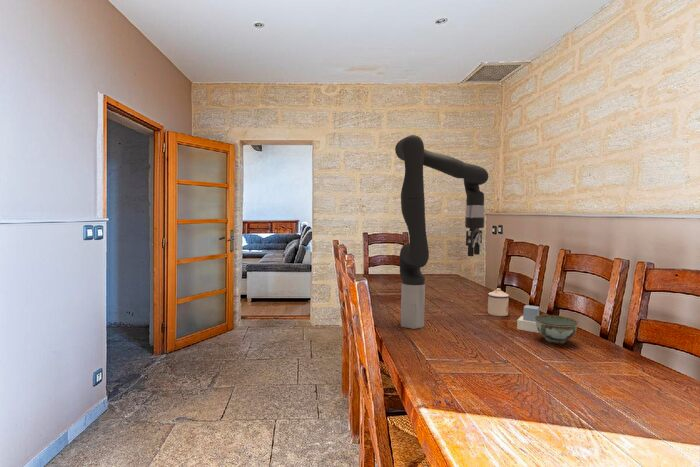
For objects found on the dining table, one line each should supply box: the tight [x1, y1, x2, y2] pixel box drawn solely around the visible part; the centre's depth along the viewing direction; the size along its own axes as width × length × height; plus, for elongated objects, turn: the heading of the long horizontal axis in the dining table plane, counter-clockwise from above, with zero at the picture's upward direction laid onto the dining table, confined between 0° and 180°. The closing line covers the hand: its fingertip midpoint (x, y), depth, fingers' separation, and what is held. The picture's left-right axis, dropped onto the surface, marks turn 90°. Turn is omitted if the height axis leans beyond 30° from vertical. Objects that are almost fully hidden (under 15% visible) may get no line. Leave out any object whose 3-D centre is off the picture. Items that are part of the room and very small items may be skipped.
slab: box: [516, 315, 540, 334], centre depth 153 cm, size 8×8×4 cm
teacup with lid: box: [487, 287, 510, 317], centre depth 176 cm, size 12×9×12 cm
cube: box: [522, 304, 540, 322], centre depth 152 cm, size 5×5×5 cm
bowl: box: [535, 314, 578, 345], centre depth 137 cm, size 14×13×8 cm
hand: (473, 255), depth 160 cm, fingers open, 8 cm apart
